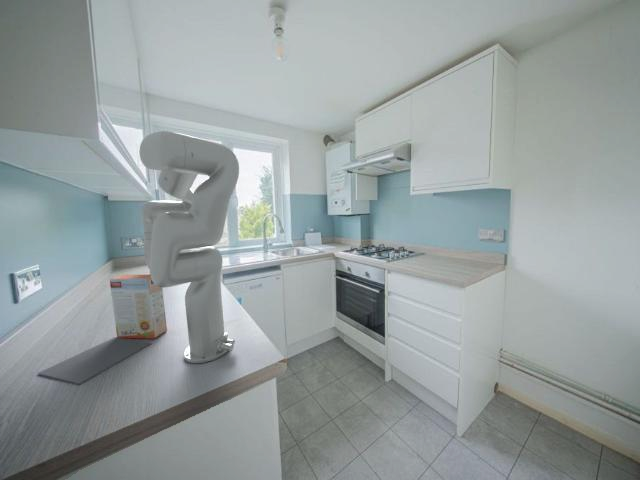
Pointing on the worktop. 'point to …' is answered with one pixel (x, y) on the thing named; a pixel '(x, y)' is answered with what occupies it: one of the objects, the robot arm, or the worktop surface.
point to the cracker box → (138, 307)
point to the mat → (94, 360)
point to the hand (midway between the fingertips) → (162, 284)
